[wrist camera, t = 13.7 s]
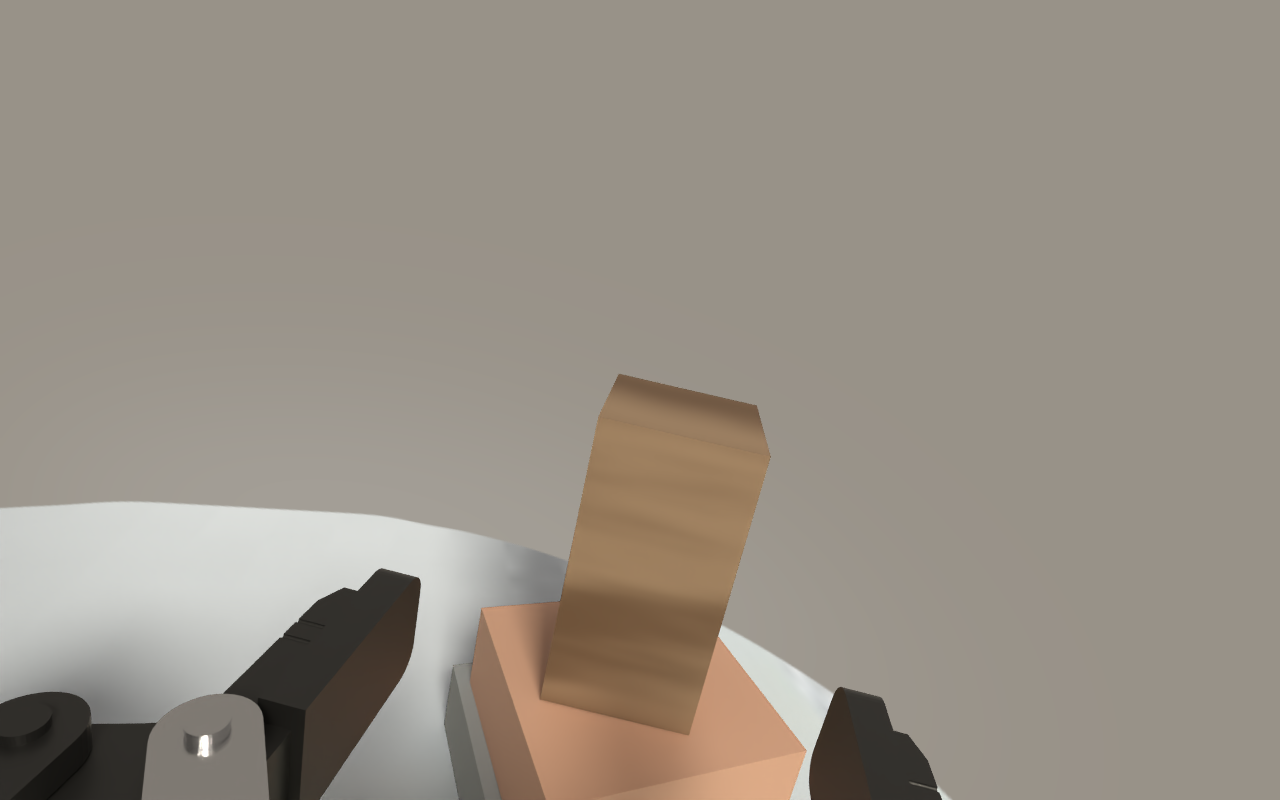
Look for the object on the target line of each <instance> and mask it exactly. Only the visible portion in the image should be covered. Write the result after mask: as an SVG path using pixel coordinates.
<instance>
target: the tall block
mask: <svg viewBox="0 0 1280 800" xmlns="http://www.w3.org/2000/svg"><path fill="white" fill-rule="evenodd" d="M770 457H771V456H770V453H769V449H768V445H767V442H766V438H765V435H764V431H763V427H762V424H761V420H760V416H759V412H758V409H757V406H756V405H752V404H747V403H743V402H738V401H734V400H730V399H725V398H721V397H717V396H713V395H708V394H704V393H700V392H695V391H691V390H687V389H682V388H678V387H673V386H669V385H665V384H660V383H656V382H652V381H648V380H643V379H639V378H635V377H630V376H626V375H622V374H619V375H618V377H617V379H616V381H615V383H614V385H613V387H612V390H611V392H610V394H609V396H608V398H607V400H606V402H605V404H604V406H603V408H602V410H601V412H600V415H599V417H598V421H597V426H596V431H595V436H594V441H593V446H592V450H591V456H590V460H589V465H588V470H587V475H586V479H585V484H584V489H583V494H582V499H581V504H580V508H579V514H578V519H577V523H576V528H575V533H574V537H573V543H572V547H571V552H570V557H569V562H568V566H567V571H566V576H565V581H564V586H563V591H562V595H561V600H560V605H559V610H558V615H557V620H556V624H555V629H554V634H553V639H552V644H551V649H550V653H549V658H548V663H547V668H546V673H545V678H544V682H543V687H542V692H541V697H540V700H544V701H549V702H553V703H557V704H561V705H565V706H569V707H573V708H577V709H582V710H586V711H590V712H594V713H598V714H602V715H606V716H610V717H615V718H619V719H623V720H627V721H631V722H635V723H639V724H643V725H648V726H652V727H656V728H660V729H664V730H668V731H672V732H676V733H681V734H685V735H689V734H690V730H691V727H692V723H693V720H694V717H695V713H696V710H697V706H698V703H699V699H700V696H701V693H702V689H703V686H704V682H705V679H706V676H707V672H708V669H709V665H710V662H711V659H712V655H713V652H714V648H715V645H716V641H717V638H718V635H719V631H720V628H721V624H722V621H723V618H724V614H725V611H726V607H727V603H728V600H729V597H730V594H731V590H732V587H733V583H734V580H735V577H736V573H737V570H738V566H739V563H740V559H741V556H742V553H743V549H744V546H745V542H746V539H747V536H748V532H749V529H750V525H751V522H752V519H753V515H754V512H755V508H756V505H757V501H758V498H759V495H760V491H761V488H762V484H763V481H764V478H765V474H766V470H767V467H768V464H769V461H770Z"/></svg>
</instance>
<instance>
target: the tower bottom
mask: <svg viewBox="0 0 1280 800" xmlns="http://www.w3.org/2000/svg"><path fill="white" fill-rule="evenodd" d="M472 665H473V663H467V664H458V665H453V669H452V676H451V683H450V689H449V696H448V703H447V709H446V716H445V722H444V726H445V731H446V736H447V741H448V746H449V751H450V756H451V761H452V766H453V771H454V776H455V781H456V786H457V791H458V796H459V800H502V799H501V795H500V792H499V788H498V784H497V781H496V777H495V773H494V770H493V766H492V762H491V758H490V755H489V751H488V747H487V744H486V740H485V736H484V733H483V729H482V725H481V722H480V718H479V714H478V710H477V707H476V703H475V699H474V695H473V692H472V688H471V684H470V677H471V671H472Z"/></svg>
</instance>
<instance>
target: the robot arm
mask: <svg viewBox="0 0 1280 800" xmlns="http://www.w3.org/2000/svg"><path fill="white" fill-rule="evenodd" d="M420 588H421V582H420V579H419V578H418V577H414V576H410V575H406V574H402V573H398V572H394V571H390V570H386V569H382V568H381V569H379V570H377V571H376V572H375V573H374V574H373V575H372V576H371V577H370V578H369V580H368V581H367V582H366V583H365V584H364V585H363V586H362V587H361V588H360V589H359V590H358V591H355V590H352V589H348V588H342V589H340V590H338V591H336V592H334V593H332V594H330V595H328V596H326V597H324V598H322V599H320V600H318V601H317V602H316V603H315V604H314V605H313V606H312V607H311V608H310V609H309V610H307V611H306V612H305V613H304V614H303V615H302V616H301V617H300V618H299V621H298V623H297V622H295V623H294V624H293V625H292V626H291V627H290V628H289V629H288V630H287V631H286V632H285V633H284V636H283V637H282V638H279V639H278V640H277V641H276V642H275V643H274V644H273V645H272V646H271V647H270V648H269V649H268V650H267V651H266V652H265V653H264V654H263V655H262V656H261V657H260V658H259V659H258V660H257V661H256V662H255V663H254V664H253V665H252V666H251V667H250V668H249V669H248V670H247V671H246V672H245V673H244V674H242V675H241V676H240V677H239V678H238V679H237V680H236V681H235V682H234V683H233V684H232V685H231V686H230V687H229V688H228V689H227V690H226V691H225V692H224V693H223V694H214V695H207V696H203V697H199V698H196V699H193V700H190V701H188V702H186V703H183V704H181V705H179V706H178V707H176V708H174V709H173V710H171V711H170V712H168V713H167V714H166V715H164V716H163V717H162V718H161V719H160V720H159V721H158V722H157V723H145V724H91V712H90V707H89V706H88V704H87V702H85V701H84V700H83V699H82V698H80V697H78V696H76V695H73V694H70V693H63V692H43V693H36V694H30V695H26V696H22V697H18V698H15V699H12V700H9V701H6V702H4V703H1V704H0V800H319V799H320V798H321V796H322V795H323V793H324V792H325V790H326V789H327V787H328V786H329V784H330V783H331V782H332V780H333V779H334V777H335V776H336V774H337V773H338V771H339V770H340V768H341V767H342V765H343V764H344V762H345V761H346V759H347V758H348V756H349V755H350V753H351V752H352V750H353V749H354V747H355V746H356V744H357V743H358V742H359V740H360V739H361V737H362V736H363V734H364V733H365V731H366V730H367V728H368V727H369V725H370V724H371V722H372V721H373V719H374V718H375V716H376V715H377V713H378V712H379V710H380V709H381V707H382V706H383V705H384V703H385V702H386V700H387V699H388V697H389V696H390V694H391V693H392V691H393V690H394V688H395V687H396V685H397V684H398V682H399V681H400V679H401V678H402V676H403V674H404V672H405V670H406V667H407V665H408V662H409V660H410V657H411V653H412V649H413V644H414V636H415V628H416V621H417V613H418V605H419V597H420ZM809 788H810V795H811V800H942V798H941V796H940V793H939V792H937V785H936V782H935V779H934V776H933V774H932V771H931V768H930V765H929V763H928V760H927V759H926V758H925V756H924V755H923V754H922V752H921V751H920V750H919V748H918V747H917V746H916V745H915V743H914V742H913V741H912V739H911V738H910V737H909V735H907V734H903V733H900V732H896V731H893V728H892V725H891V722H890V719H889V716H888V713H887V710H886V706H885V703H884V701H883V700H882V698H881V697H877V696H874V695H870V694H866V693H862V692H858V691H854V690H850V689H846V688H843V687H839V688H838V689H837V690H836V691H835V693H834V696H833V698H832V701H831V704H830V706H829V709H828V712H827V715H826V717H825V720H824V723H823V726H822V728H821V731H820V734H819V737H818V739H817V742H816V745H815V748H814V751H813V754H812V758H811V764H810V773H809Z"/></svg>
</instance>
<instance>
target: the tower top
mask: <svg viewBox="0 0 1280 800" xmlns="http://www.w3.org/2000/svg"><path fill="white" fill-rule="evenodd" d="M559 605H560V601H559V602H547V603H535V604H523V605H511V606H499V607H487V608H481V615H480V621H479V627H478V633H477V640H476V646H475V652H474V658H473V665H472V671H471V677H470V684H471V688H472V692H473V695H474V699H475V703H476V707H477V710H478V714H479V718H480V722H481V725H482V729H483V733H484V736H485V740H486V744H487V747H488V751H489V755H490V758H491V762H492V766H493V770H494V773H495V777H496V781H497V784H498V788H499V792H500V795H501V799H502V800H789V799H790V797H791V794H792V791H793V788H794V785H795V782H796V779H797V777H798V774H799V771H800V768H801V765H802V762H803V760H804V757H805V754H806V751H807V750H806V749H805V748H804V747H803V745H802V744H801V743H800V741H799V740H798V739H797V738H796V736H795V735H794V734H793V732H792V731H791V730H790V728H789V727H788V726H787V725H786V723H785V722H784V721H783V719H782V718H781V717H780V716H779V714H778V713H777V712H776V710H775V709H774V708H773V707H772V705H771V704H770V703H769V701H768V700H767V699H766V698H765V696H764V695H763V694H762V692H761V691H760V690H759V688H758V687H757V686H756V685H755V683H754V682H753V681H752V679H751V678H750V677H749V676H748V674H747V673H746V672H745V670H744V669H743V668H742V667H741V665H740V664H739V663H738V661H737V660H736V659H735V658H734V656H733V655H732V654H731V652H730V651H729V650H728V648H727V647H726V646H725V645H724V643H723V642H722V641H721V639H720V638H719V637H718V638H717V641H716V645H715V648H714V652H713V655H712V659H711V662H710V665H709V669H708V672H707V676H706V679H705V682H704V686H703V689H702V693H701V696H700V699H699V703H698V706H697V710H696V713H695V717H694V720H693V723H692V727H691V730H690V734H689V735H685V734H681V733H676V732H672V731H668V730H664V729H660V728H656V727H652V726H648V725H643V724H639V723H635V722H631V721H627V720H623V719H619V718H615V717H610V716H606V715H602V714H598V713H594V712H590V711H586V710H582V709H577V708H573V707H569V706H565V705H561V704H557V703H553V702H549V701H544V700H540V697H541V692H542V687H543V682H544V678H545V673H546V668H547V663H548V658H549V653H550V649H551V644H552V639H553V634H554V629H555V624H556V620H557V615H558V610H559Z"/></svg>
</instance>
